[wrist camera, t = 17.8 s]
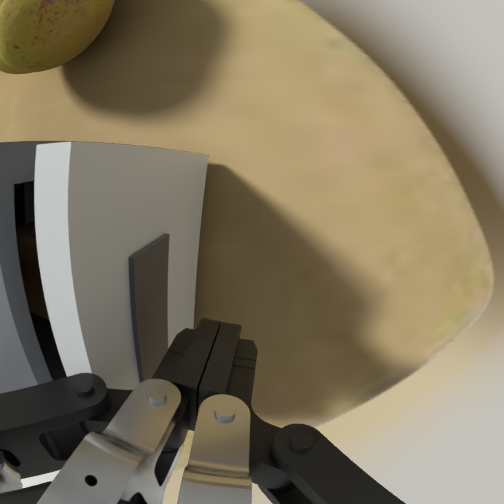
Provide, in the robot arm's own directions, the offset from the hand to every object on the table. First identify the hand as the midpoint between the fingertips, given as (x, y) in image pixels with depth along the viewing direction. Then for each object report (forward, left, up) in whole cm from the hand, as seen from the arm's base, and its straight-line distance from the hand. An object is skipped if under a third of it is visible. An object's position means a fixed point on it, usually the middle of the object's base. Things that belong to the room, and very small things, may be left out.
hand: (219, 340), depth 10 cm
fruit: (+18, +16, -8) cm, 25 cm away
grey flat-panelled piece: (0, +10, -7) cm, 13 cm away
